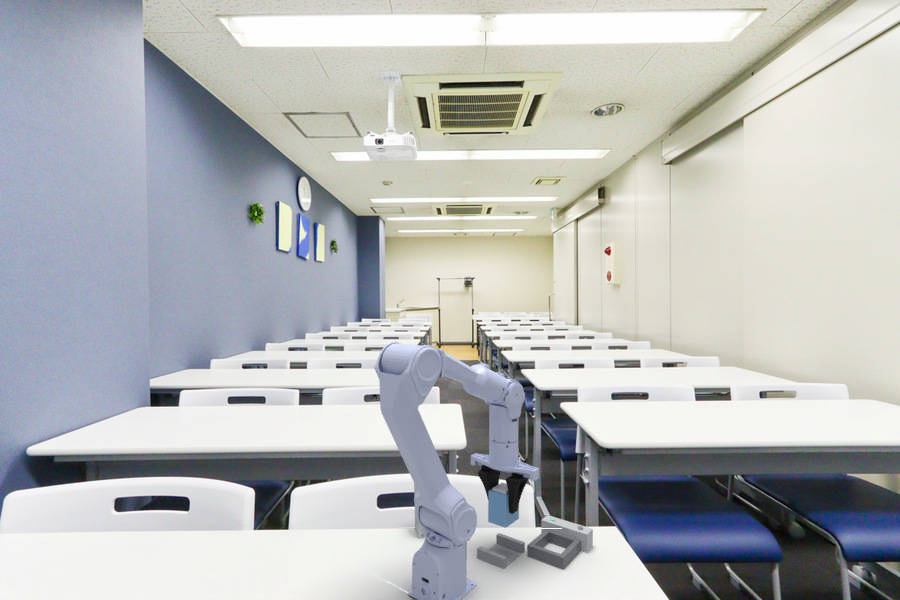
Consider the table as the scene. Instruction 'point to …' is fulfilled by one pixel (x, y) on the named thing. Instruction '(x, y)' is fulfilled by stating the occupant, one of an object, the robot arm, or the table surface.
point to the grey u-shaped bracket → (502, 551)
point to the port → (560, 542)
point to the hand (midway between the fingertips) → (503, 508)
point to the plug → (500, 506)
